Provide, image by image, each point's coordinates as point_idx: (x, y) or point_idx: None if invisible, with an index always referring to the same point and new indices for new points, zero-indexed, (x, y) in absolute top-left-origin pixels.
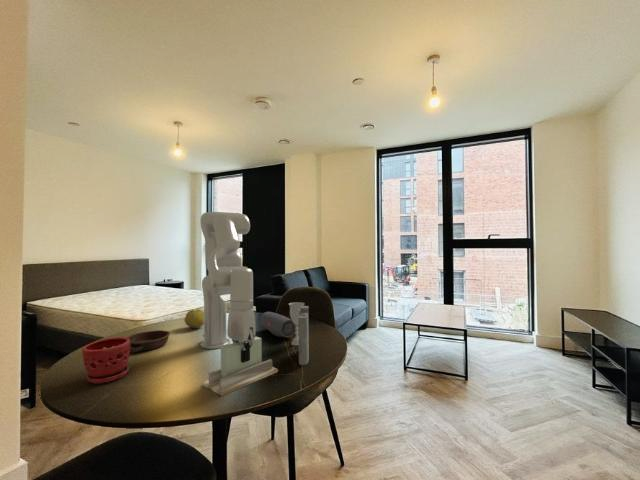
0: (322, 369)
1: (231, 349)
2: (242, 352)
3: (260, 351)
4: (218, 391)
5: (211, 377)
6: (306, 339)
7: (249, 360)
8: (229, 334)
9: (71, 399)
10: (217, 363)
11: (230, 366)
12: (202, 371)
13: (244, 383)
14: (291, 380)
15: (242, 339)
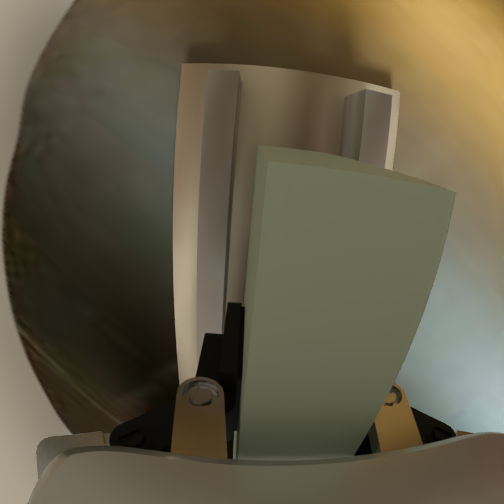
0: None
1: (253, 275)
2: (220, 363)
3: (233, 450)
4: (219, 64)
5: (356, 97)
6: None
7: None
8: (493, 473)
9: None
10: (492, 304)
11: (254, 195)
12: (501, 212)
13: (173, 218)
14: (81, 362)
15: (75, 476)
